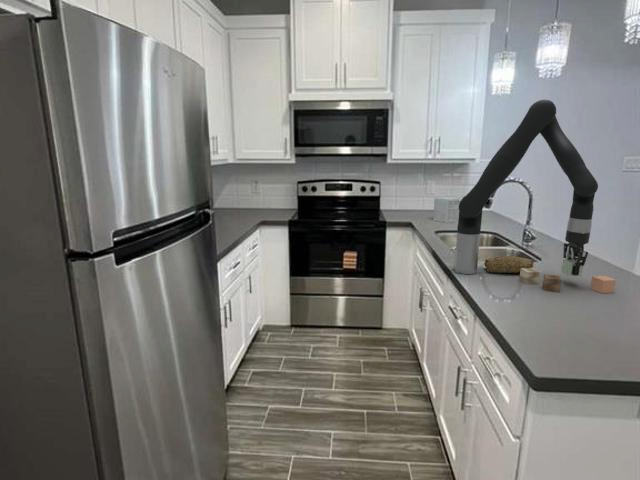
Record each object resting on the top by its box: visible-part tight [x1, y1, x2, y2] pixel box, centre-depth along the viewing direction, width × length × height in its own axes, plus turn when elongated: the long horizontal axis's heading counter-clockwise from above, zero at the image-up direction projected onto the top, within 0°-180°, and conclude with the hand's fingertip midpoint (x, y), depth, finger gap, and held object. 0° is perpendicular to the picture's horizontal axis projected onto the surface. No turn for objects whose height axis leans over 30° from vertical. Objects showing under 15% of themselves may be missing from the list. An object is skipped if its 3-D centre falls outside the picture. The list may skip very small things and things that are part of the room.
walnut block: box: [542, 274, 562, 293], centre depth 144 cm, size 5×5×5 cm
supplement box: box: [432, 196, 461, 224], centre depth 286 cm, size 13×13×18 cm
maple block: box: [519, 267, 541, 285], centre depth 153 cm, size 5×5×5 cm
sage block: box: [561, 258, 584, 277], centre depth 149 cm, size 5×5×5 cm
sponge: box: [484, 255, 535, 274], centre depth 166 cm, size 13×8×20 cm
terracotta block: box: [589, 275, 616, 294], centre depth 143 cm, size 5×5×5 cm
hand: (571, 272), depth 149 cm, fingers closed on sage block, 5 cm apart
